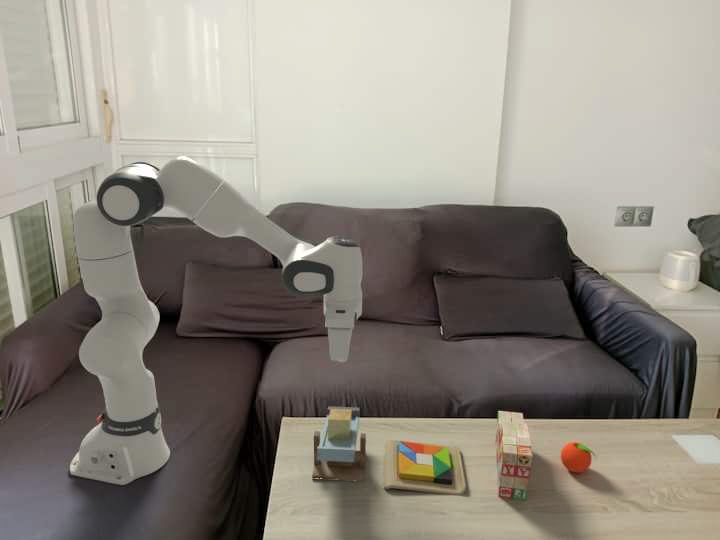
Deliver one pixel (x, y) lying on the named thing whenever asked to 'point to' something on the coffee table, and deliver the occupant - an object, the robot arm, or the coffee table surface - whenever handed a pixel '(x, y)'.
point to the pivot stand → (340, 464)
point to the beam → (339, 448)
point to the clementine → (576, 457)
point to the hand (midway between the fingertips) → (342, 359)
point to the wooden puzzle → (423, 467)
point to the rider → (339, 424)
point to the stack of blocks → (513, 455)
